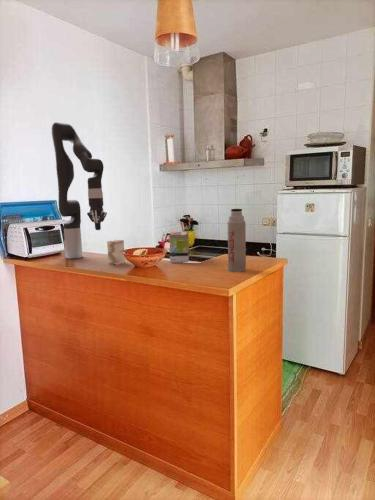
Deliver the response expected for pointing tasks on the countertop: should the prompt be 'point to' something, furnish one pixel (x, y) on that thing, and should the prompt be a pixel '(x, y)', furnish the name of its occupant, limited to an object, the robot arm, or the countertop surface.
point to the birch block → (115, 251)
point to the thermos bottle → (236, 241)
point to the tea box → (179, 247)
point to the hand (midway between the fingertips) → (98, 229)
